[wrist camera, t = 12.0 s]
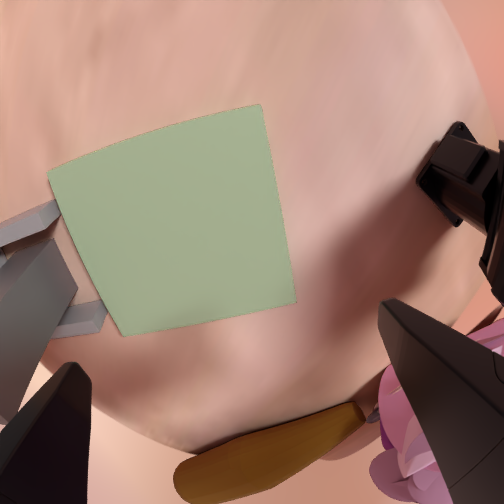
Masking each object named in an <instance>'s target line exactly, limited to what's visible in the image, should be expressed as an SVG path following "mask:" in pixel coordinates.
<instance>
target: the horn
mask: <svg viewBox="0 0 504 504" xmlns="http://www.w3.org/2000/svg"><path fill="white" fill-rule="evenodd" d="M365 422H366V418H365V416H364V414H363V412H362V410H361V408H360V407H359V406H358V405H357V404H356V403H355V402H350V403H344V404H342V405H339V406H336V407H334V408H331V409H328V410H325V411H323V412H320V413H317V414H314V415H311V416H308V417H305V418H302V419H299V420H296V421H293V422H289V423H286V424H283V425H279V426H276V427H273V428H269V429H265V430H262V431H258V432H254V433H250V434H247V435H244V436H241V437H238V438H236V439H234V440H231V441H229V442H227V443H225V444H223V445H220V446H218V447H216V448H213V449H211V450H209V451H206V452H204V453H202V454H199V455H197V456H194V457H192V458H189V459H187V460H185V461H183V462H182V463H180V464H179V466H178V467H177V468H176V469H175V472H174V475H173V482H174V487H175V489H176V491H177V493H178V494H179V495H180V496H181V498H182V499H183V500H185V501H186V502H188V503H190V504H219V503H223V502H227V501H231V500H235V499H238V498H242V497H245V496H249V495H252V494H256V493H259V492H262V491H265V490H268V489H271V488H273V487H275V486H277V485H278V484H280V483H282V482H283V481H285V480H287V479H288V478H290V477H291V476H293V475H295V474H296V473H298V472H299V471H301V470H302V469H304V468H305V467H307V466H308V465H310V464H311V463H313V462H314V461H316V460H317V459H319V458H320V457H321V456H323V455H324V454H326V453H327V452H328V451H330V450H331V449H332V448H334V447H335V446H337V445H338V444H339V443H340V442H342V441H343V440H344V439H346V438H347V437H348V436H350V435H351V434H352V433H353V432H355V431H356V430H357V429H358V428H360V427H361V426H362V425H363V424H364V423H365Z"/></svg>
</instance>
